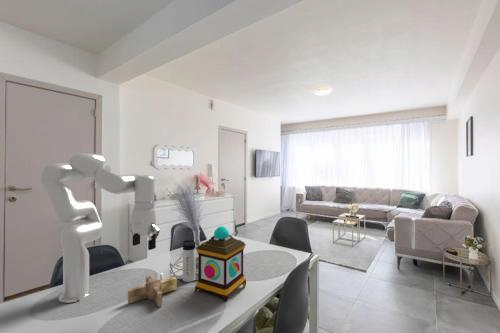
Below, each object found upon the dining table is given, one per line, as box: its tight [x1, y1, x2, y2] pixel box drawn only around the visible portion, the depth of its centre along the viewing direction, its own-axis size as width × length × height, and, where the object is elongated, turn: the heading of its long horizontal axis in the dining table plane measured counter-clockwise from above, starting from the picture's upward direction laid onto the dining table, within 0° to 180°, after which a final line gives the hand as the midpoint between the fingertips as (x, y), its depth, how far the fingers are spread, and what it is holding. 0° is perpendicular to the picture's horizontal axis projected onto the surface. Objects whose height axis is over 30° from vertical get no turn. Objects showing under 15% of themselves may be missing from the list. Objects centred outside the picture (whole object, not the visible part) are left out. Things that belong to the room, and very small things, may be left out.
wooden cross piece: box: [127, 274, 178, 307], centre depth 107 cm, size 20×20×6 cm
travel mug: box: [182, 239, 197, 283], centre depth 124 cm, size 6×7×20 cm
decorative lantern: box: [194, 225, 247, 302], centre depth 116 cm, size 20×20×30 cm
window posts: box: [159, 272, 175, 281], centre depth 119 cm, size 5×5×5 cm
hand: (143, 246), depth 102 cm, fingers open, 9 cm apart
